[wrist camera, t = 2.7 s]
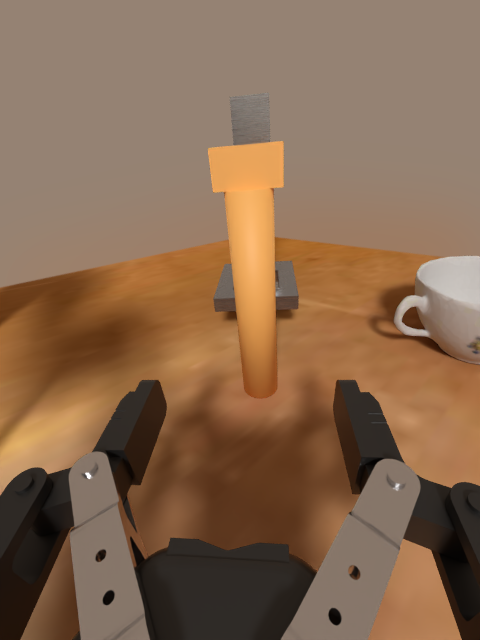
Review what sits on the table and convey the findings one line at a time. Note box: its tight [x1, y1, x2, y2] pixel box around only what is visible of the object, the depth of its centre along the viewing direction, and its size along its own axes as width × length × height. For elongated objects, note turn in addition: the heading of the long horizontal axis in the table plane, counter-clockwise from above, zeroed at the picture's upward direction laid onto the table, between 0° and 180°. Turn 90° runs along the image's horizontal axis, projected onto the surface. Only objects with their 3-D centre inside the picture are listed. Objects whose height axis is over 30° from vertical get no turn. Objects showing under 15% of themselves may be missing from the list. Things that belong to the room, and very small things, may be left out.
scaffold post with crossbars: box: [214, 93, 298, 312], centre depth 39 cm, size 28×9×24 cm, turn 176°
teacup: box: [394, 256, 480, 365], centre depth 28 cm, size 15×12×8 cm
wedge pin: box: [208, 141, 284, 398], centre depth 23 cm, size 4×3×20 cm
